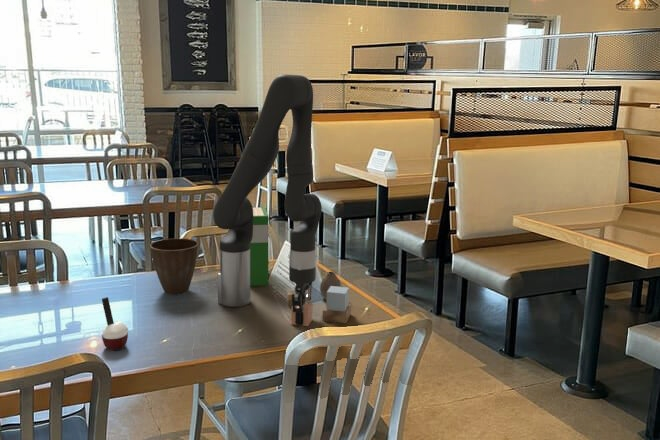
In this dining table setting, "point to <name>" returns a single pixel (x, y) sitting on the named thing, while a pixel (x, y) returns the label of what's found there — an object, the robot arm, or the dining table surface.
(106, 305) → the fishing bobber
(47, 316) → the dining table surface
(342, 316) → the walnut slab
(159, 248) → the plant pot
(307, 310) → the terracotta cube
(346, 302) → the slate cube
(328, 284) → the vase
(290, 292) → the maple block
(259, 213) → the hardback book
